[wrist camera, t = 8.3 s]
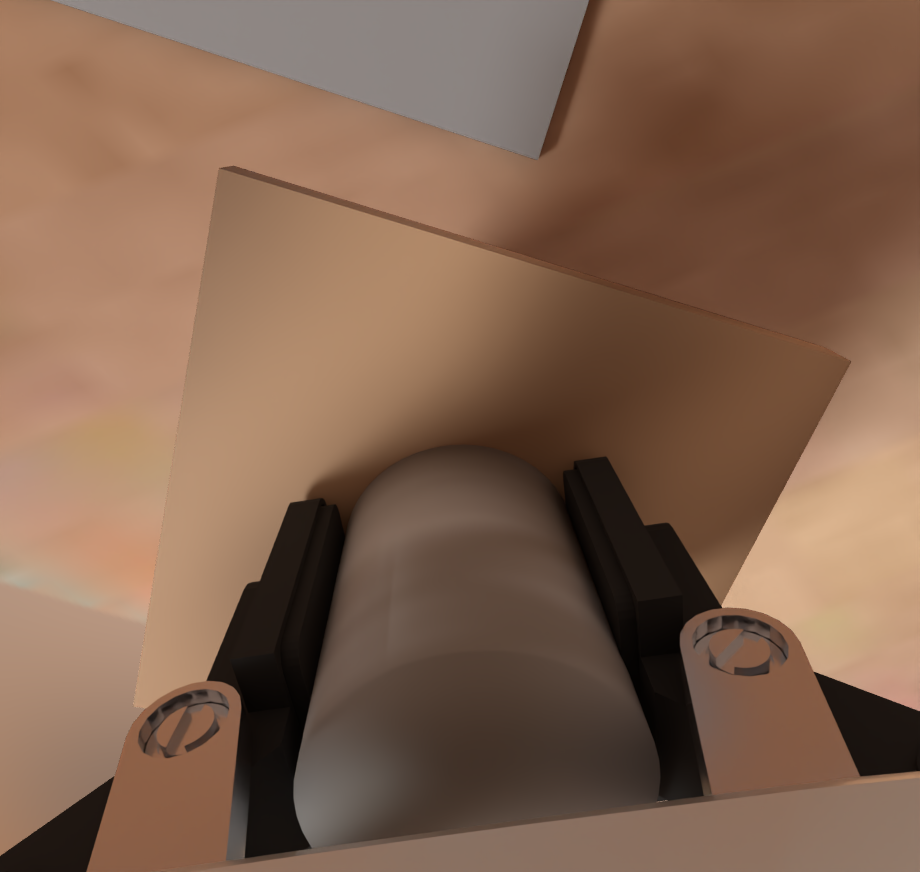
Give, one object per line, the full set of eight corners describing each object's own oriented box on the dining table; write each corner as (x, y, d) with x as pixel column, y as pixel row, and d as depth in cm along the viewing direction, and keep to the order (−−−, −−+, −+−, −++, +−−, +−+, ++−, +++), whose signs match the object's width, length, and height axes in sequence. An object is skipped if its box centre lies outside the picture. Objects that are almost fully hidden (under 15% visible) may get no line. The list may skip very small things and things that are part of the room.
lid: (825, 347, 12) (1144, 518, 7) (609, 767, 16) (702, 1095, 10) (233, 165, 10) (28, 196, 5) (148, 676, 14) (-23, 1005, 9)
